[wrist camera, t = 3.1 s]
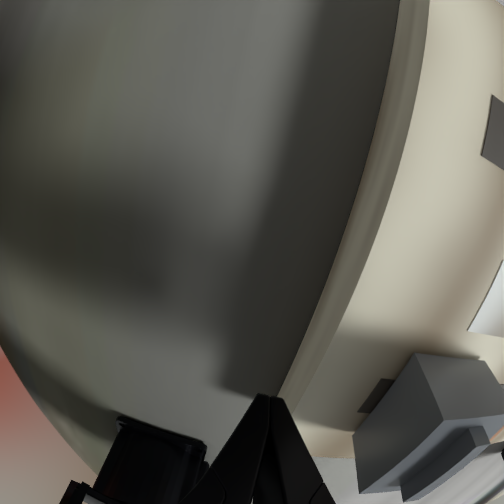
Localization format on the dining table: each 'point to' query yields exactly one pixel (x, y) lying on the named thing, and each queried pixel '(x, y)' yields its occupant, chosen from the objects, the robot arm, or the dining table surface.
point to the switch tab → (428, 426)
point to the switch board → (415, 228)
